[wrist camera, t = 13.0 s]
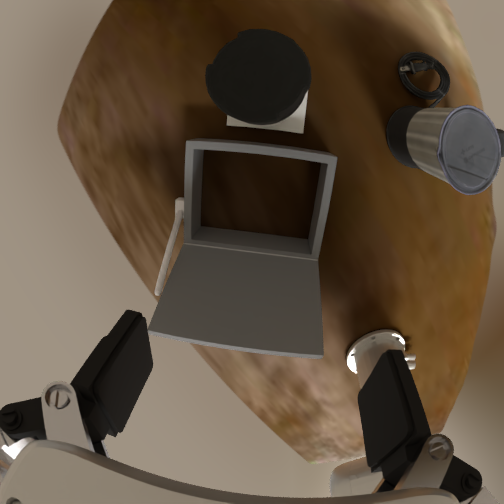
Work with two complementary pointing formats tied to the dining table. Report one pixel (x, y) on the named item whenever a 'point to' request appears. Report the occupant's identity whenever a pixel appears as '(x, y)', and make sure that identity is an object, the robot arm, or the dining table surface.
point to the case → (244, 271)
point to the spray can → (259, 77)
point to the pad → (290, 124)
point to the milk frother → (444, 134)
